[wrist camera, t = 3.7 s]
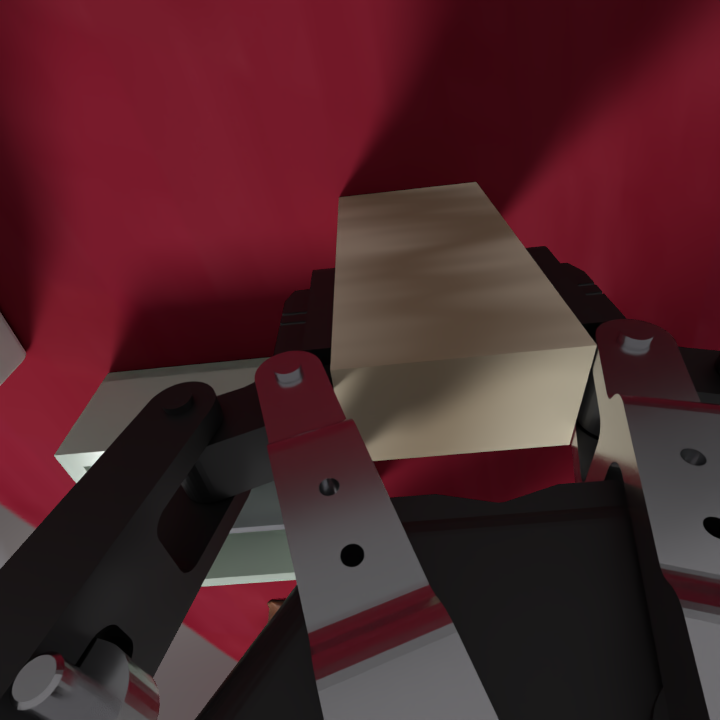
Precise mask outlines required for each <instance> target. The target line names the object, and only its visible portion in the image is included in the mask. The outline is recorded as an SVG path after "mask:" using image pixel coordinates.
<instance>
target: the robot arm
mask: <svg viewBox="0 0 720 720" xmlns="http://www.w3.org/2000/svg"><path fill="white" fill-rule="evenodd" d="M525 249H526V250H527V251H528V253H529V254H530V255H531V257H532V258H533V259H534V261H535V262H536V263H537V265H538V266H539V267H540V269H541V270H542V272H543V273H544V274H545V276H546V277H547V278H548V280H549V281H550V282H551V284H552V285H553V286H554V288H555V289H556V290H557V292H558V293H559V295H560V296H561V297H562V299H563V300H564V301H565V303H566V304H567V305H568V307H569V308H570V309H571V311H572V312H573V313H574V315H575V316H576V317H577V319H578V320H579V322H580V323H581V324H582V326H583V327H584V328H585V330H586V331H587V332H588V334H589V335H590V336H591V338H592V339H593V340H594V342H595V343H596V345H597V347H596V351H595V354H594V358H593V361H592V365H591V369H590V372H589V376H588V379H587V383H586V387H585V390H584V394H583V398H582V401H581V405H580V408H579V412H578V416H577V419H576V423H575V427H574V430H573V434H572V437H571V445H572V456H573V466H574V477H575V483H568V484H558V485H555V486H552V487H549V488H546V489H543V490H540V491H537V492H534V493H531V494H528V495H525V496H522V497H519V498H516V499H513V500H510V501H507V502H501V503H495V502H488V501H480V500H473V499H466V498H459V497H452V496H445V495H438V494H431V495H419V496H406V497H394V498H389V496H388V493H387V491H386V489H385V487H384V485H383V483H382V480H381V478H380V476H379V474H378V472H377V470H376V467H375V465H374V463H373V461H372V459H371V456H370V454H369V452H368V450H367V448H366V446H365V443H364V441H363V439H362V437H361V435H360V433H359V430H358V428H357V426H356V424H355V422H354V421H353V419H352V418H348V419H346V417H345V415H344V412H343V410H342V408H341V406H340V403H339V401H338V399H337V397H336V394H335V392H334V388H333V382H332V377H331V372H330V365H331V345H332V325H333V306H334V286H335V268H330V269H320V270H313V272H312V278H311V286H310V289H307V290H298V291H294V292H293V294H292V295H291V296H290V297H289V298H288V299H287V300H286V301H285V304H284V308H283V313H282V314H283V316H282V318H281V322H280V325H281V326H280V327H279V332H278V336H277V341H276V346H275V350H274V355H273V356H272V357H271V358H269V359H267V360H266V361H265V362H263V363H262V364H261V365H260V366H259V368H258V369H257V371H256V373H255V382H253V383H252V384H250V385H247V386H245V387H243V388H240V389H237V390H234V391H231V392H227V393H224V394H221V395H218V396H216V393H215V391H214V389H213V388H212V387H211V386H210V385H208V384H206V383H204V382H199V381H190V382H183V383H179V384H176V385H173V386H171V387H168V388H166V389H165V390H163V391H161V392H160V393H158V394H157V395H156V396H154V397H153V398H152V399H151V400H150V401H149V402H148V403H147V405H146V406H145V407H144V408H143V409H142V410H141V411H140V412H139V414H138V415H137V416H136V417H135V418H134V419H133V420H132V421H131V423H130V424H129V425H128V426H127V427H126V428H125V429H124V430H123V432H122V433H121V434H120V435H119V436H118V437H117V438H116V439H115V441H114V442H113V443H112V444H111V445H110V446H109V447H108V448H107V450H106V451H105V452H104V453H103V454H102V455H101V456H100V457H99V459H98V460H97V461H96V462H95V463H94V464H93V465H92V466H91V468H90V469H89V470H88V471H87V472H86V473H85V474H84V475H83V477H82V478H81V479H80V480H79V481H78V482H77V483H76V484H75V486H74V487H73V488H72V489H71V490H70V491H69V492H68V493H67V495H66V496H65V497H64V498H63V499H62V500H61V501H60V502H59V504H58V505H57V506H56V507H55V508H54V509H53V510H52V511H51V513H50V514H49V515H48V516H47V517H46V518H45V519H44V520H43V522H42V523H41V524H40V525H39V526H38V527H37V528H36V530H35V531H34V532H33V533H32V534H31V535H30V536H29V537H28V539H27V540H26V541H25V542H24V543H23V544H22V545H21V546H20V548H19V549H18V550H17V551H16V552H15V553H14V554H13V556H12V557H11V558H10V559H9V560H8V561H7V562H6V563H5V565H4V566H3V567H2V568H1V569H0V720H157V719H158V715H159V706H160V703H159V692H158V688H157V685H156V683H155V681H154V679H153V676H154V675H155V673H156V671H157V669H158V667H159V665H160V663H161V661H162V659H163V658H164V656H165V654H166V652H167V650H168V648H169V646H170V644H171V642H172V640H173V639H174V637H175V635H176V633H177V631H178V629H179V627H180V625H181V623H182V622H183V620H184V618H185V616H186V614H187V612H188V610H189V608H190V606H191V605H192V603H193V601H194V599H195V597H196V595H197V593H198V591H199V589H200V587H201V586H202V584H203V582H204V580H205V578H206V576H207V574H208V572H209V570H210V569H211V567H212V565H213V563H214V561H215V559H216V557H217V555H218V553H219V552H220V550H221V548H222V546H223V544H224V542H225V540H226V538H227V536H228V534H229V533H230V531H231V529H232V527H233V525H234V523H235V521H236V519H237V517H238V516H239V514H240V512H241V510H242V508H243V506H244V504H245V502H246V500H247V499H248V497H249V494H250V492H251V489H253V488H256V487H258V486H261V485H264V484H267V483H269V482H272V481H274V482H275V486H276V491H277V495H278V500H279V504H280V509H281V513H282V518H283V523H284V527H285V532H286V536H287V541H288V545H289V550H290V554H291V559H292V563H293V568H294V572H295V577H296V581H297V585H296V587H295V588H294V589H293V591H292V592H291V593H290V594H289V596H288V597H287V598H286V600H285V601H284V602H283V604H282V605H281V606H280V608H279V609H278V610H277V612H276V613H275V614H274V616H273V617H272V618H271V620H270V621H269V622H268V624H267V625H266V626H265V628H264V629H263V630H262V632H261V633H260V634H259V635H258V637H257V638H256V639H255V641H254V642H253V643H252V645H251V646H250V647H249V649H248V650H247V651H246V653H245V654H244V655H243V657H242V658H241V659H240V661H239V662H238V663H237V665H236V666H235V667H234V669H233V670H232V671H231V673H230V674H229V675H228V676H227V678H226V679H225V681H224V682H223V683H222V685H221V686H220V687H219V688H218V690H217V691H216V692H215V694H214V695H213V696H212V698H211V699H210V700H209V702H208V703H207V704H206V706H205V707H204V708H203V710H202V711H201V713H199V715H198V716H197V717H196V719H195V720H720V351H715V350H705V349H694V348H684V347H678V346H677V344H676V341H675V339H674V338H673V337H672V336H671V334H669V333H668V332H667V331H666V330H664V329H662V328H661V327H658V326H656V325H654V324H651V323H648V322H644V321H640V320H634V319H626V318H625V316H624V315H623V314H622V313H621V312H620V311H619V310H618V309H617V308H616V306H615V305H614V304H613V303H612V302H611V301H610V300H609V299H608V298H607V296H606V295H605V294H602V291H601V290H600V289H599V287H598V286H597V285H594V282H593V281H592V280H591V279H590V277H589V276H588V275H587V274H586V273H585V272H584V271H582V270H580V269H578V268H576V267H574V266H572V265H570V264H569V263H561V264H560V262H559V261H558V260H557V259H556V258H555V256H554V255H553V254H552V253H551V252H550V250H549V249H548V248H547V247H546V246H540V247H531V248H525Z"/></svg>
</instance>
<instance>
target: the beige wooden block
mask: <svg viewBox="0 0 720 720" xmlns="http://www.w3.org/2000/svg"><path fill="white" fill-rule="evenodd" d="M596 347H597V345H596V343H595V342H594V340H593V339H592V338H591V336H590V335H589V334H588V332H587V331H586V330H585V328H584V327H583V326H582V324H581V323H580V322H579V320H578V319H577V317H576V316H575V315H574V313H573V312H572V311H571V309H570V308H569V307H568V305H567V304H566V303H565V301H564V300H563V299H562V297H561V296H560V295H559V293H558V292H557V290H556V289H555V288H554V286H553V285H552V284H551V282H550V281H549V280H548V278H547V277H546V276H545V274H544V273H543V272H542V270H541V269H540V267H539V266H538V265H537V263H536V262H535V261H534V259H533V258H532V257H531V255H530V254H529V253H528V251H527V250H526V249H525V247H524V246H523V245H522V243H521V242H520V240H519V239H518V238H517V236H516V235H515V234H514V232H513V231H512V230H511V228H510V227H509V226H508V224H507V223H506V222H505V220H504V219H503V217H502V216H501V215H500V213H499V212H498V211H497V209H496V208H495V207H494V205H493V204H492V203H491V201H490V200H489V199H488V197H487V196H486V195H485V193H484V192H483V190H482V189H481V188H480V186H479V185H478V184H477V182H471V183H462V184H453V185H444V186H435V187H427V188H418V189H409V190H400V191H391V192H382V193H373V194H364V195H355V196H347V197H339V207H338V227H337V246H336V266H335V286H334V306H333V325H332V345H331V365H330V372H331V377H332V382H333V388H334V392H335V394H336V397H337V399H338V401H339V403H340V406H341V408H342V410H343V412H344V415H345V417H346V419H348V418H352V419H353V421H354V422H355V424H356V426H357V428H358V430H359V433H360V435H361V437H362V439H363V441H364V443H365V446H366V448H367V450H368V452H369V454H370V456H371V459H372V461H380V460H392V459H404V458H416V457H428V456H440V455H452V454H464V453H476V452H488V451H500V450H512V449H524V448H536V447H548V446H560V445H570V441H571V437H572V434H573V430H574V427H575V423H576V419H577V416H578V412H579V408H580V405H581V401H582V398H583V394H584V390H585V387H586V383H587V379H588V376H589V372H590V369H591V365H592V361H593V358H594V354H595V351H596Z"/></svg>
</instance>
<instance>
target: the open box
mask: <svg viewBox="0 0 720 720" xmlns="http://www.w3.org/2000/svg"><path fill="white" fill-rule="evenodd" d="M269 358H271V357H267V358H257V359H246V360H236V361H226V362H216V363H205V364H195V365H185V366H174V367H164V368H154V369H144V370H133V371H123V372H113V373H108V374H107V376H106V377H105V379H104V380H103V382H102V383H101V385H100V386H99V388H98V389H97V391H96V393H95V394H94V396H93V397H92V399H91V400H90V402H89V403H88V405H87V406H86V408H85V409H84V411H83V412H82V414H81V415H80V417H79V418H78V420H77V421H76V423H75V424H74V426H73V427H72V429H71V430H70V432H69V433H68V435H67V437H66V438H65V440H64V441H63V443H62V444H61V446H60V447H59V449H58V450H57V452H56V453H55V455H54V456H55V457H56V459H57V460H58V461H59V462H60V464H61V465H62V466H63V467H64V469H65V470H66V471H67V472H68V474H69V475H70V476H71V477H72V478H73V480H74V481H75V482H76V483H77V482H78V481H79V480H80V479H81V478H82V477H83V475H84V474H85V473H86V472H87V471H88V470H89V469H90V468H91V466H92V465H93V464H94V463H95V462H96V461H97V460H98V459H99V457H100V456H101V455H102V454H103V453H104V452H105V451H106V450H107V448H108V447H109V446H110V445H111V444H112V443H113V442H114V441H115V439H116V438H117V437H118V436H119V435H120V434H121V433H122V432H123V430H124V429H125V428H126V427H127V426H128V425H129V424H130V423H131V421H132V420H133V419H134V418H135V417H136V416H137V415H138V414H139V412H140V411H141V410H142V409H143V408H144V407H145V406H146V405H147V403H148V402H149V401H150V400H151V399H152V398H153V397H154V396H156V395H157V394H158V393H160V392H161V391H163V390H165V389H166V388H168V387H171V386H173V385H176V384H179V383H183V382H190V381H199V382H204V383H206V384H208V385H210V386H211V387H212V388H213V389H214V391H215V393H216V396H218V395H221V394H224V393H227V392H231V391H234V390H237V389H240V388H243V387H245V386H247V385H250V384H252V383H253V382H255V373H256V371H257V369H258V368H259V366H260V365H261V364H262V363H263V362H265V361H266V360H267V359H269ZM285 580H296V577H295V572H294V568H293V563H292V559H291V554H290V550H289V545H288V541H287V536H286V532H285V527H284V523H283V518H282V513H281V509H280V504H279V500H278V495H277V491H276V486H275V482H274V481H272V482H269V483H267V484H264V485H261V486H258V487H256V488H253V489H251V492H250V494H249V497H248V499H247V500H246V502H245V504H244V506H243V508H242V510H241V512H240V514H239V516H238V517H237V519H236V521H235V523H234V525H233V527H232V529H231V531H230V533H229V534H228V536H227V538H226V540H225V542H224V544H223V546H222V548H221V550H220V552H219V553H218V555H217V557H216V559H215V561H214V563H213V565H212V567H211V569H210V570H209V572H208V574H207V576H206V578H205V580H204V582H203V584H202V586H216V585H230V584H243V583H257V582H271V581H285ZM202 586H201V587H202Z"/></svg>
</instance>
